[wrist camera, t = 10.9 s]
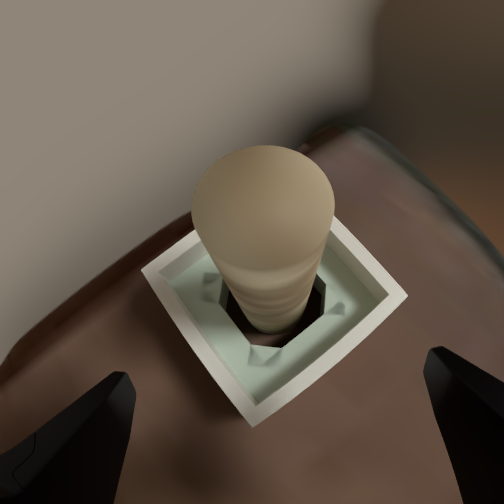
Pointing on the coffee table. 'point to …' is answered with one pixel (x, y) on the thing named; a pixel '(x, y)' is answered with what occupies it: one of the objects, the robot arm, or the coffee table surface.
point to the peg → (265, 230)
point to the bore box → (296, 351)
